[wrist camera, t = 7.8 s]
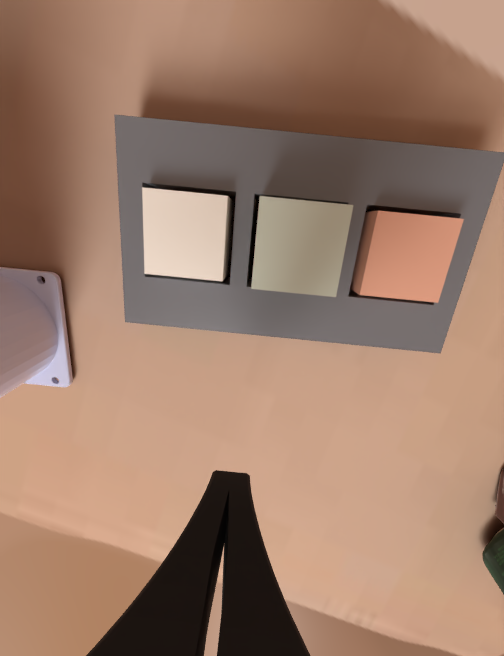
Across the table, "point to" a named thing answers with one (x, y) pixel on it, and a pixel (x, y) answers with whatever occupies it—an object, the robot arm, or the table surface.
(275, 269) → the sage key
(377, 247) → the terracotta key
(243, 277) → the keypad
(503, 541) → the coffee jar
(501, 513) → the box
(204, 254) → the cream key
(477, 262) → the table surface
